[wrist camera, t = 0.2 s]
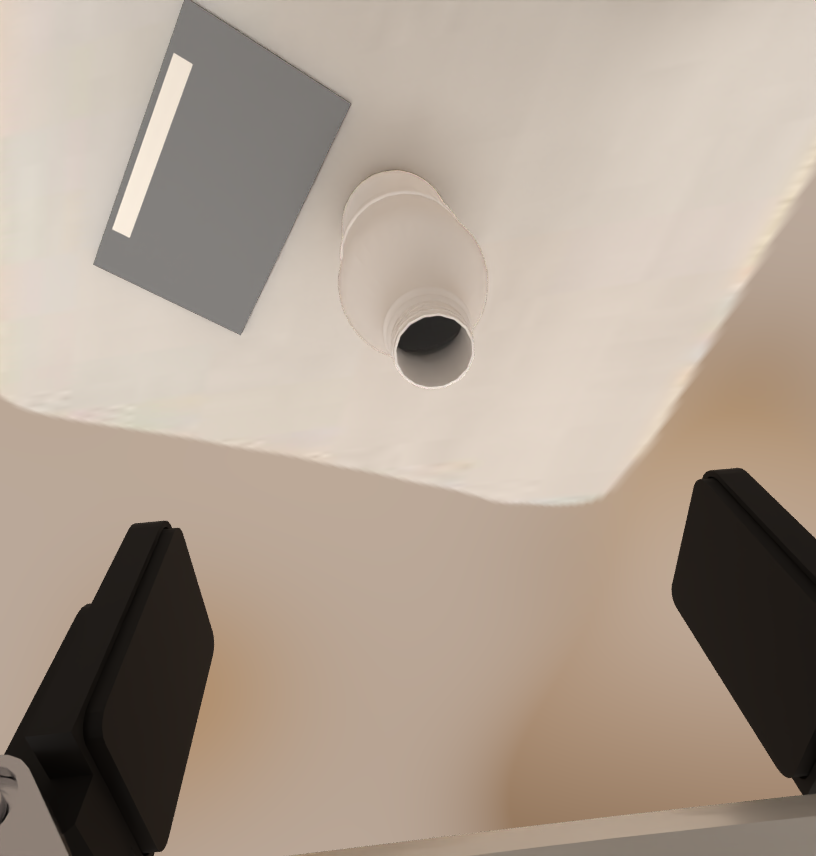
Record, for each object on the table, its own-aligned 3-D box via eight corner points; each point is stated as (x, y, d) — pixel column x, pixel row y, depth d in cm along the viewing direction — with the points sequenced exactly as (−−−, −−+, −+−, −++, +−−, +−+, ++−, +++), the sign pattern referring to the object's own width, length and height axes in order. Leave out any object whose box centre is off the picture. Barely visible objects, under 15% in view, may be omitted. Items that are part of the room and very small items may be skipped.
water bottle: (325, 241, 44) (300, 392, 22) (370, 145, 41) (393, 211, 19) (412, 285, 46) (466, 464, 24) (460, 197, 43) (572, 310, 21)
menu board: (187, -2, 36) (185, -3, 36) (350, 103, 40) (350, 103, 39) (96, 262, 43) (93, 264, 43) (241, 332, 47) (240, 335, 46)
